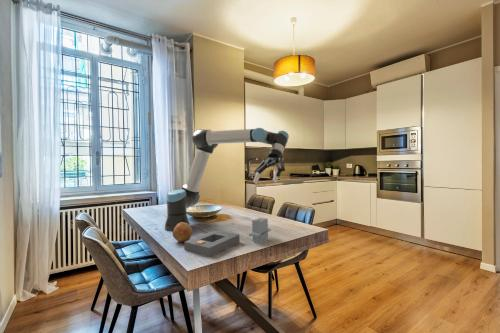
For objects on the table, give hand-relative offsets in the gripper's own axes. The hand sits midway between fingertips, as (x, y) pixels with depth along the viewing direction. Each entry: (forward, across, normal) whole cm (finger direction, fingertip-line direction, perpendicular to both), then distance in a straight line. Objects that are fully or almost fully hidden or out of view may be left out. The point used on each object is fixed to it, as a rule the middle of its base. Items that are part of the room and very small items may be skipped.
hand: (264, 182), depth 133 cm
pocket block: (+40, +14, +2) cm, 42 cm away
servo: (+27, 0, -14) cm, 31 cm away
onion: (+42, +32, +7) cm, 53 cm away
